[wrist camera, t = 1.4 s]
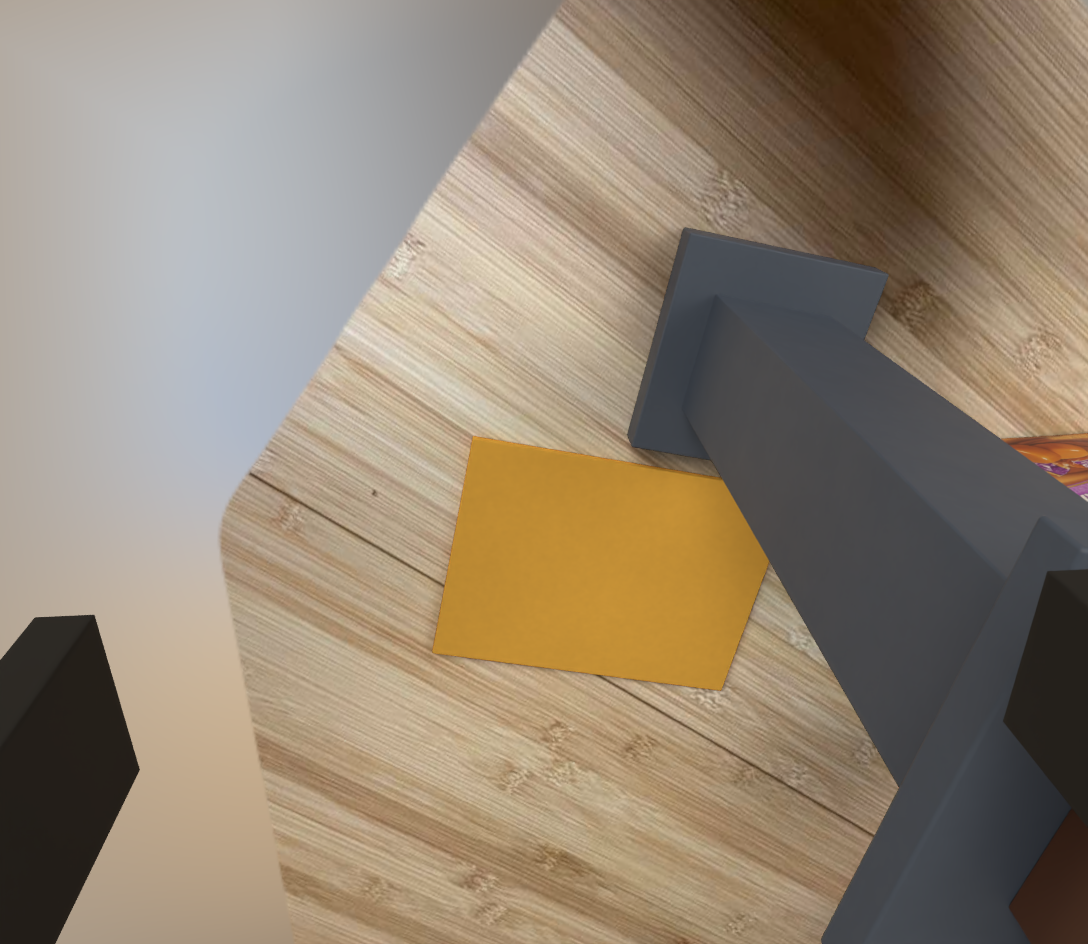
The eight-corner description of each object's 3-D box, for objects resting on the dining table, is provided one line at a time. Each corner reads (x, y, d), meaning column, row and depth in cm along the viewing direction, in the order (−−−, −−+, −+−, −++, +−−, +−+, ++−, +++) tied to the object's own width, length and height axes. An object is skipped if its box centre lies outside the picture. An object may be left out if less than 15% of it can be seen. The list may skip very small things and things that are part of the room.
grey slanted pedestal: (626, 435, 45) (838, 992, 18) (683, 226, 40) (1083, 548, 13) (802, 465, 46) (1245, 1024, 19) (875, 267, 42) (1592, 633, 15)
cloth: (432, 649, 50) (432, 653, 50) (472, 435, 44) (472, 438, 44) (719, 686, 53) (721, 691, 52) (793, 489, 47) (795, 492, 46)
